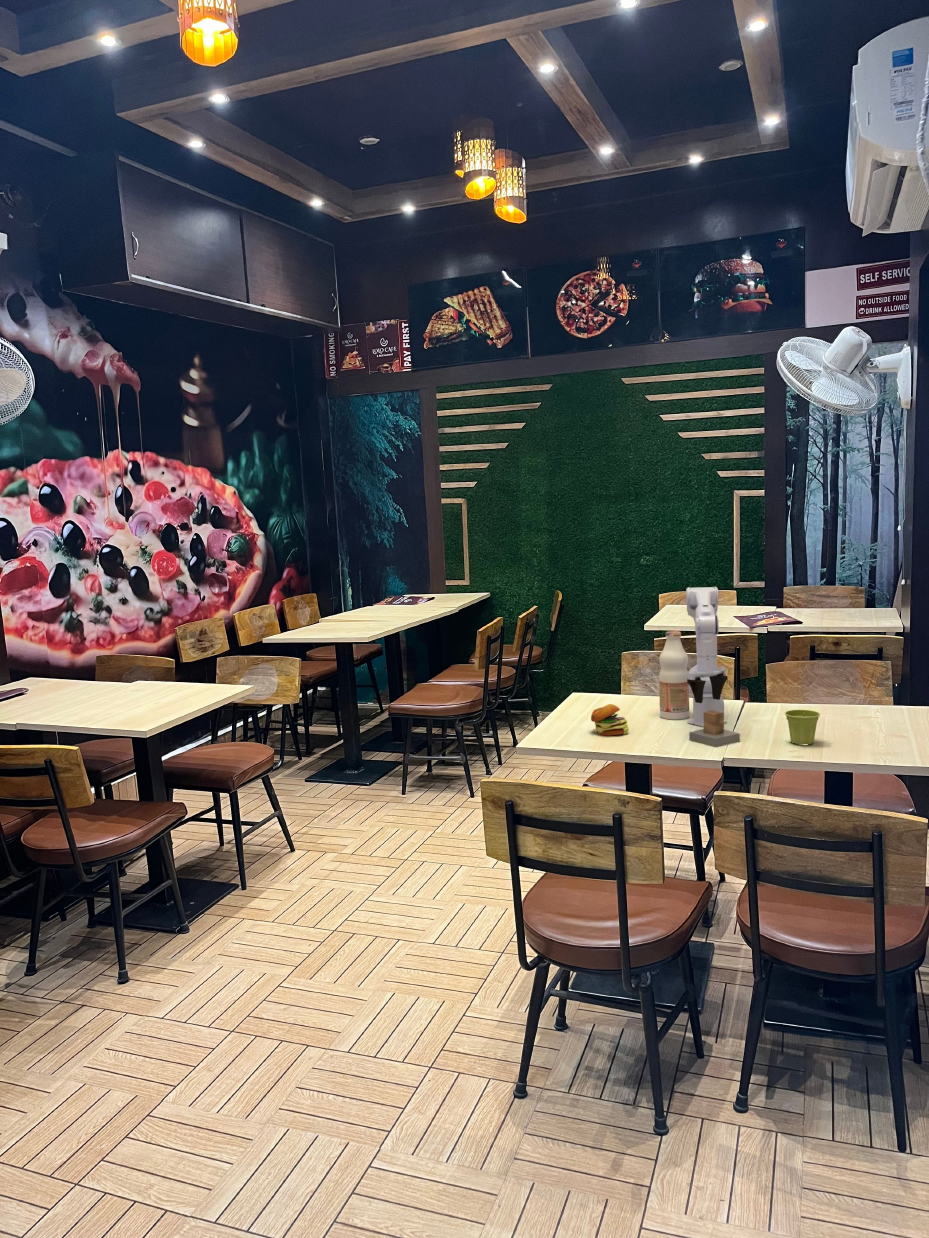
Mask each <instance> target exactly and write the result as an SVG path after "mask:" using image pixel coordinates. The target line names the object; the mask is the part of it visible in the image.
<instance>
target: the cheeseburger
mask: <svg viewBox="0 0 929 1238" xmlns="http://www.w3.org/2000/svg"><path fill="white" fill-rule="evenodd" d="M620 710H621V709H620V707H619V706H617V705H616V704H614V703H613V704H612V703H610V704H607V705H604V706H601V707H598V708H596V709H593V711H592V713H591V716H590V720H591V722H592V723H593V722H594V725H595V730H596V731H597V734H599V735H601V736H604V737H605V736H606V737H608V736H617V735H627V734H628V732H629V727H628V724H627V723H628V720H627V719H626V718H625V717H623V716H619V713H618V712H620Z"/></svg>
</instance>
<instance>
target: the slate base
mask: <svg viewBox="0 0 929 1238" xmlns="http://www.w3.org/2000/svg"><path fill="white" fill-rule="evenodd" d="M740 735H741V733H740V732H736V731H733V730H727V729H724V733H720V734H717V735H712V734H708V733H704V728H702V729H698V730H697V729H696V730H693V731H689V736H688V737H689V740H688V741H689V742H690V741H691V742H692V743H693V742H694V743H698V744H701V745H704V746H705V745H706V746H708V747H709V746H710V747H713V748H718V747H722V746H727V745H731V744H735V743H739V742H741V736H740Z"/></svg>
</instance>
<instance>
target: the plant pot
mask: <svg viewBox="0 0 929 1238" xmlns="http://www.w3.org/2000/svg"><path fill="white" fill-rule="evenodd" d="M784 715H785V716H786V720H787V723H788V725H787V726H788V731H789V738H790V739H789V740H790V743H791V742H792V743H791V744H793V743H795V745H797V744H810V745H812V744H811V743H813V742H815V737H816V730H817V724H818V720H819V719H820V717H821V713H820V712H818V711H816V710H809V709H790V710H786V711H785V712H784ZM813 744H814V743H813Z"/></svg>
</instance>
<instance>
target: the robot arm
mask: <svg viewBox="0 0 929 1238" xmlns="http://www.w3.org/2000/svg"><path fill="white" fill-rule="evenodd" d="M685 593H686V594H685V601H686V612H687V616H690V617H691V618H693V623H694V629H695V630H694V632H695V641H696V642H695V643H696V664H695V665H694V666H693V667H691V668H690V669H689V671H688V679H687V682H688V684H689V695H691V696H692V703H693V705H692V706H693V708H692V710H693V711H692V713H693V715H692V718H693V719H692V720H689V721H687V724H689V725H696V726H699V727H703V728H704V712H707V711H711V710H715V711H720V712H724V713H725V702H724V699H723V697H722V692H723V689H724V687H725V684H726V682H727V681H728V675H727V667H723V666H722V667H718V634H719V628H720V625H719V617H718V615H717V612H718V606H719V589H718V587H717V586H712V587H711V586H710V587H689V586H688V587H687V588H686V590H685ZM726 723H727V721H726V720H724V724H726Z"/></svg>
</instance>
